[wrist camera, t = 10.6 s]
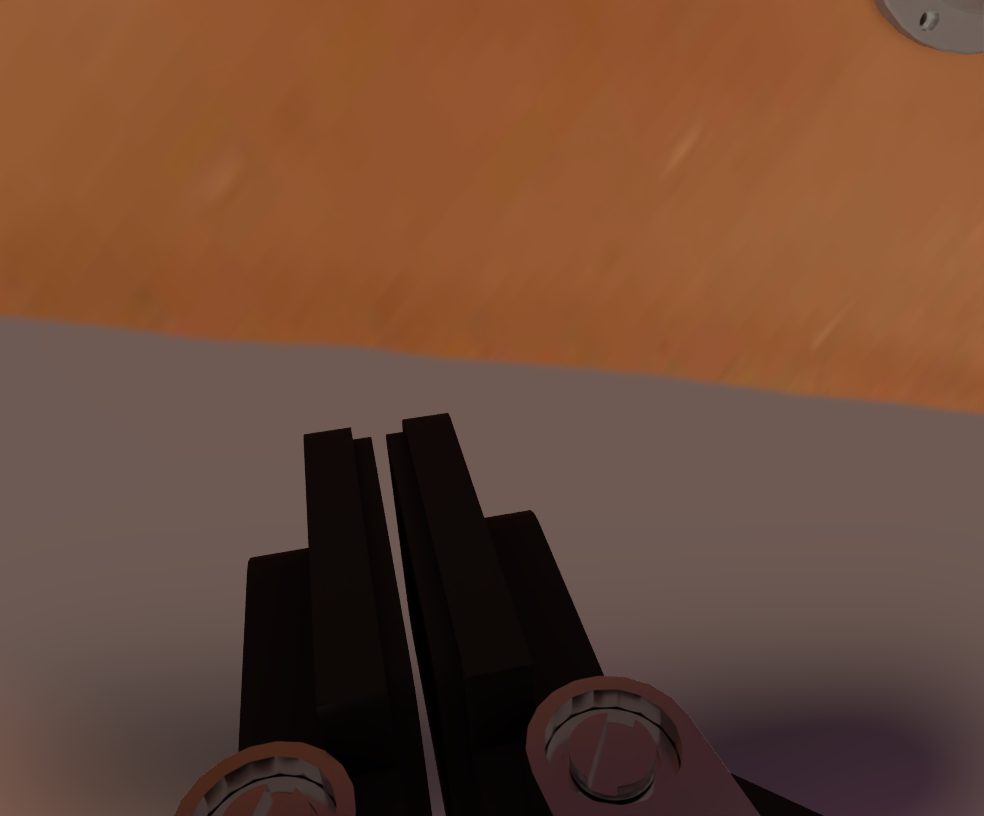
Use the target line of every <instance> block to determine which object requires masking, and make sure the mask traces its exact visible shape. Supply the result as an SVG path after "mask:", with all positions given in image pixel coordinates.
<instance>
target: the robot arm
mask: <svg viewBox="0 0 984 816" xmlns="http://www.w3.org/2000/svg"><path fill="white" fill-rule="evenodd" d="M874 2H875V4H876V5H877V7H878V9H879V10H880V12H881V14H882V15H883V17H884V18H885V19H886V20H887V21H888V22H889V23H890V24H891V25H892V26H893V27H894V28H895V29H896V30H897V31H898V32H899V33H901V34H902V35H904V36H906V37H907V38H909V39H911V40H912V41H914V42H916V43H917V44H919V45H922V46H926V47H929V48H933V49H937V50H940V51H945V52H952V53H959V54H966V55H967V54H978V53H984V0H874ZM402 426H403V432H399V433H393V434H386V441H387V449H388V457H389V464H390V472H391V480H392V487H393V495H394V502H395V510H396V517H397V525H398V533H399V541H400V548H401V556H402V564H403V571H404V579H405V587H406V594H407V602H408V609H409V616H410V622H411V629H412V634H413V640H414V646H415V651H416V656H417V662H418V666H419V672H420V678H421V683H422V689H423V695H424V700H425V705H426V710H427V716H428V722H429V727H430V732H431V738H432V743H433V749H434V754H435V760H436V765H437V770H438V776H439V781H440V786H441V792H442V798H443V802H444V808H445V814H446V816H823V815H821V814H818V813H816V812H814V811H812V810H810V809H807V808H805V807H803V806H801V805H799V804H797V803H794V802H792V801H790V800H788V799H786V798H783V797H781V796H779V795H777V794H775V793H773V792H771V791H768V790H766V789H764V788H762V787H760V786H757V785H755V784H753V783H751V782H749V781H747V780H744V779H742V778H740V777H738V776H736V775H733V774H731V773H730V772H729V771H728V770H727V768H726V767H725V765H724V764H723V763H722V761H721V760H720V758H719V757H718V756H717V754H716V753H715V751H714V750H713V749H712V747H711V746H710V744H709V743H708V742H707V740H706V739H705V738H704V736H703V735H702V734H701V732H700V731H699V729H698V728H697V727H696V725H695V724H694V722H693V721H692V719H691V718H690V717H689V715H688V714H687V713H686V712H685V711H684V710H683V709H682V708H681V707H680V706H679V705H678V704H677V703H676V702H675V701H674V700H673V699H672V698H671V697H670V696H668V695H666V694H664V693H663V692H661V691H660V690H658V689H656V688H654V687H653V686H651V685H649V684H646V683H643V682H640V681H636V680H633V679H630V678H626V677H613V676H604V675H603V672H602V670H601V668H600V665H599V663H598V660H597V658H596V656H595V653H594V651H593V649H592V646H591V644H590V642H589V639H588V637H587V634H586V632H585V630H584V628H583V625H582V623H581V621H580V618H579V616H578V613H577V611H576V609H575V606H574V604H573V602H572V599H571V597H570V595H569V592H568V590H567V588H566V585H565V583H564V580H563V578H562V576H561V573H560V571H559V569H558V567H557V564H556V562H555V559H554V557H553V554H552V552H551V550H550V547H549V545H548V543H547V540H546V538H545V536H544V533H543V531H542V529H541V526H540V524H539V522H538V520H537V518H536V516H535V514H534V513H533V512H532V511H531V510H528V511H523V512H517V513H511V514H505V515H499V516H493V517H488V518H484V516H483V513H482V510H481V507H480V504H479V501H478V498H477V495H476V492H475V489H474V486H473V483H472V480H471V477H470V474H469V471H468V468H467V465H466V463H465V460H464V457H463V454H462V451H461V448H460V445H459V442H458V439H457V436H456V433H455V430H454V427H453V424H452V421H451V418H450V416H449V414H448V413H444V414H437V415H431V416H424V417H417V418H410V419H404V420H402ZM304 458H305V479H306V501H307V521H308V522H307V523H308V545H309V548H305V549H299V550H294V551H287V552H282V553H276V554H270V555H264V556H258V557H252V558H250V560H249V561H248V569H247V586H246V607H245V627H244V647H243V668H242V688H241V689H242V690H241V709H240V731H239V752H238V753H236V754H234V755H232V756H229V757H227V758H225V759H223V760H222V761H220V762H219V763H218V764H217V765H215V766H214V767H213V768H211V769H210V770H209V771H208V772H206V773H205V774H204V775H202V776H201V777H200V778H199V779H198V780H197V781H196V783H195V784H194V785H193V786H192V788H191V789H190V790H189V791H188V793H187V794H186V795H185V796H184V798H183V799H182V800H181V801H180V804H179V806H178V808H177V810H176V813H175V815H174V816H432V811H431V803H430V796H429V789H428V781H427V773H426V766H425V758H424V751H423V744H422V736H421V728H420V721H419V714H418V706H417V700H416V694H415V686H414V680H413V674H412V668H411V662H410V656H409V650H408V644H407V639H406V633H405V627H404V621H403V616H402V610H401V604H400V599H399V593H398V587H397V582H396V576H395V570H394V564H393V559H392V553H391V547H390V542H389V536H388V530H387V525H386V519H385V513H384V508H383V502H382V496H381V491H380V484H379V479H378V473H377V467H376V462H375V456H374V450H373V445H372V439H371V437H367V438H361V439H354V440H353V438H352V432H351V428H344V429H337V430H330V431H323V432H317V433H311V434H304Z"/></svg>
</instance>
